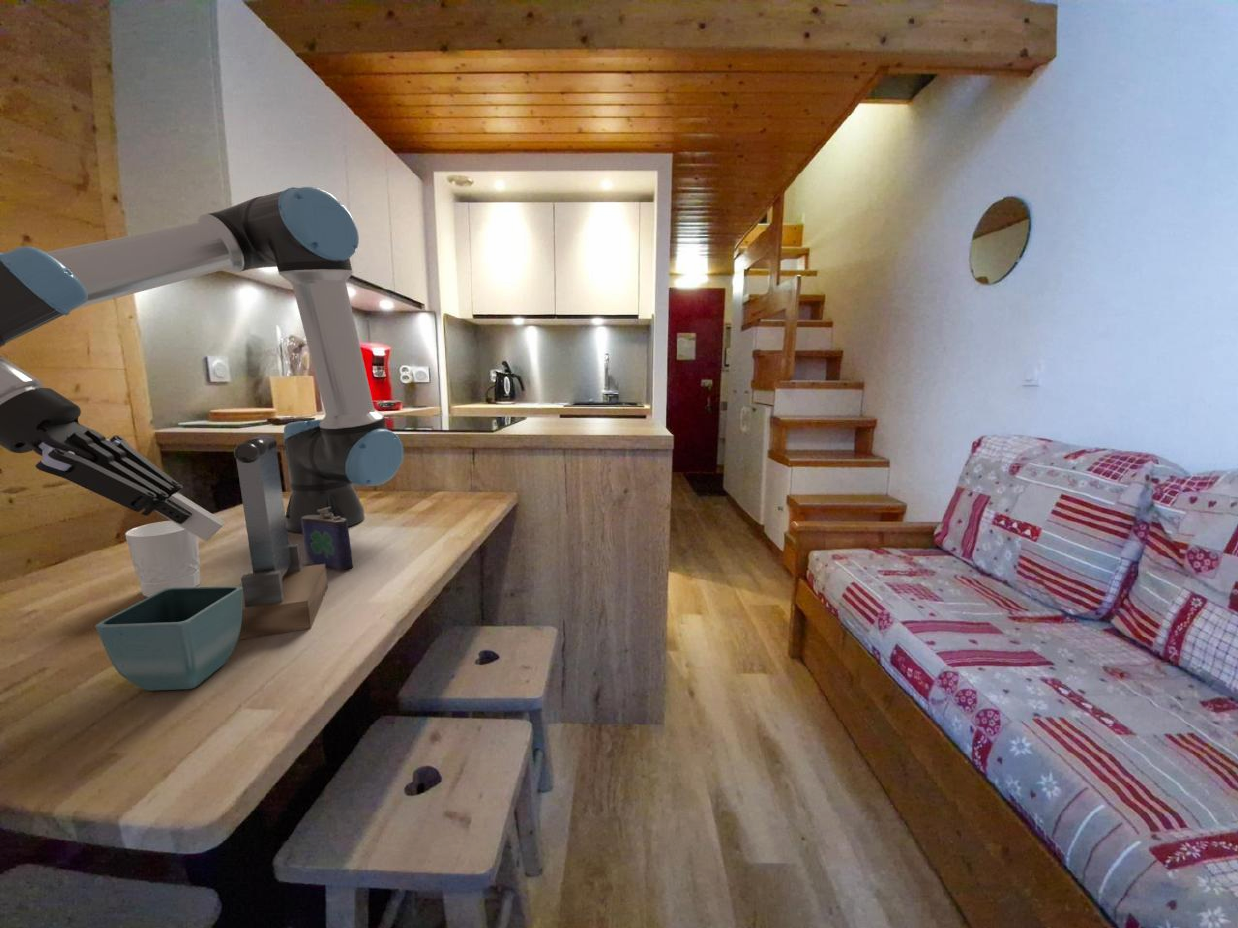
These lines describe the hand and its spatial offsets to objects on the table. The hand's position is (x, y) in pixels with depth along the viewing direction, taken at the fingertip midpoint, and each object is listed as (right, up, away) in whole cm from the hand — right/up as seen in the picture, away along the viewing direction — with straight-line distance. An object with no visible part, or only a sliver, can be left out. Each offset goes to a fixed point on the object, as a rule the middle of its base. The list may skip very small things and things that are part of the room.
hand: (216, 531), depth 64 cm
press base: (+5, -12, +5) cm, 14 cm away
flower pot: (+5, -15, -9) cm, 19 cm away
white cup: (-17, -11, +12) cm, 23 cm away
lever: (+5, -7, +4) cm, 10 cm away
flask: (+3, -9, +21) cm, 23 cm away
